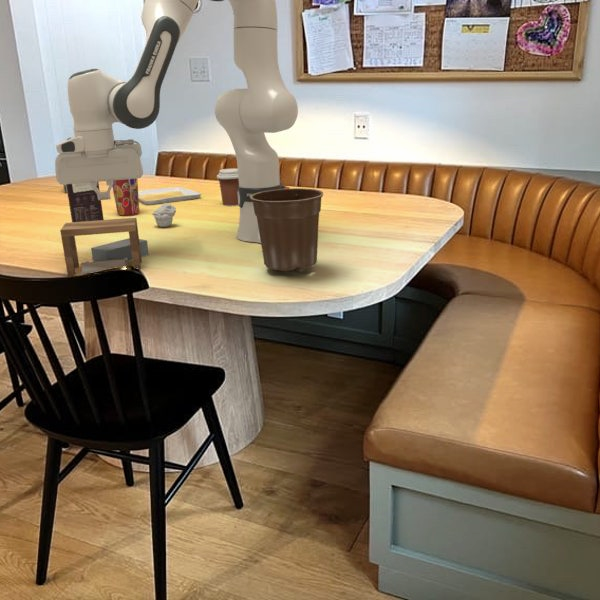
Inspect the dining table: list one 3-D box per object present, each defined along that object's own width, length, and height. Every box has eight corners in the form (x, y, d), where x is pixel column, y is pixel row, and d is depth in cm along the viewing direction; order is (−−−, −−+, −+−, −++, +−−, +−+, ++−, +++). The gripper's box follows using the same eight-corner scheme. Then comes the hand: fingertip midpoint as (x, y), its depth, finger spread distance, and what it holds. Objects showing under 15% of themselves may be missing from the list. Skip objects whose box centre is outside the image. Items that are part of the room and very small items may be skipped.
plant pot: (242, 271, 141) (237, 199, 136) (271, 252, 155) (267, 187, 150) (310, 276, 136) (308, 201, 130) (334, 256, 150) (332, 188, 144)
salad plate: (203, 202, 226) (202, 192, 225) (147, 210, 215) (146, 200, 214) (179, 194, 243) (178, 185, 242) (125, 202, 232) (124, 192, 231)
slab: (133, 252, 162) (131, 237, 160) (148, 256, 158) (147, 240, 157) (93, 264, 153) (91, 248, 151) (108, 267, 149) (106, 251, 148)
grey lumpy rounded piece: (178, 228, 185) (175, 204, 183) (153, 230, 184) (150, 206, 182) (177, 224, 191) (175, 201, 188) (153, 226, 190) (151, 202, 187)
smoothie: (147, 216, 204) (140, 152, 197) (124, 220, 198) (116, 155, 192) (133, 213, 209) (125, 151, 203) (110, 217, 204) (102, 154, 197)
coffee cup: (248, 206, 214) (246, 170, 210) (222, 209, 211) (219, 172, 207) (241, 201, 222) (239, 167, 218) (216, 204, 219) (213, 169, 215)
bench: (72, 266, 150) (65, 222, 147) (141, 260, 153) (136, 217, 149) (67, 275, 143) (60, 230, 139) (140, 269, 146) (134, 224, 142)
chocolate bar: (103, 230, 187) (95, 168, 181) (105, 230, 186) (96, 168, 180) (74, 235, 181) (64, 172, 175) (75, 236, 180) (65, 172, 175)
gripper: (140, 137, 155) (148, 193, 160) (53, 143, 152) (63, 200, 157) (139, 139, 150) (147, 198, 154) (48, 146, 146) (59, 205, 151)
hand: (104, 199), depth 156 cm, fingers closed
